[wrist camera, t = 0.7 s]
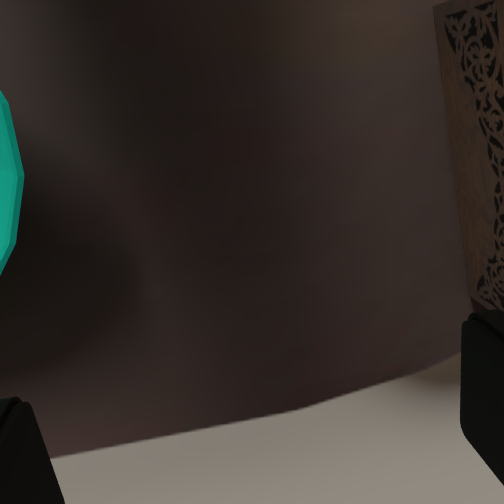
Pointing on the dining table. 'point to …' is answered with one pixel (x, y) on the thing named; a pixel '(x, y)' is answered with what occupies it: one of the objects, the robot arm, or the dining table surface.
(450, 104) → the tissue box cover
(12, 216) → the table top decor
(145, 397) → the dining table surface
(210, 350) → the dining table surface
